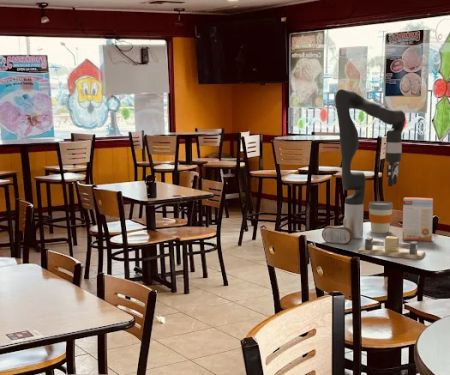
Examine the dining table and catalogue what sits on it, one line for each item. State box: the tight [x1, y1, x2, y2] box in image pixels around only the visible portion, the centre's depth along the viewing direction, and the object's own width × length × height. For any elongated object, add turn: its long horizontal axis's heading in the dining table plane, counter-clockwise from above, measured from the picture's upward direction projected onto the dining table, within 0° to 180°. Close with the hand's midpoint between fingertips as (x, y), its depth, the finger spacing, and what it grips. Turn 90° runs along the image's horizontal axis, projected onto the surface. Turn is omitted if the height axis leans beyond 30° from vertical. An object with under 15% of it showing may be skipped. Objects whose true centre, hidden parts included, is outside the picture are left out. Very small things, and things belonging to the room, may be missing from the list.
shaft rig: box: [357, 237, 426, 260], centre depth 313 cm, size 28×10×6 cm, turn 63°
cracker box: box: [401, 196, 434, 242], centre depth 343 cm, size 14×6×21 cm, turn 71°
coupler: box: [384, 235, 400, 252], centre depth 313 cm, size 5×4×6 cm
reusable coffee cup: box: [368, 200, 394, 234], centre depth 366 cm, size 13×13×15 cm
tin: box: [321, 225, 354, 245], centre depth 336 cm, size 15×3×8 cm, turn 65°
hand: (392, 185), depth 334 cm, fingers open, 8 cm apart
